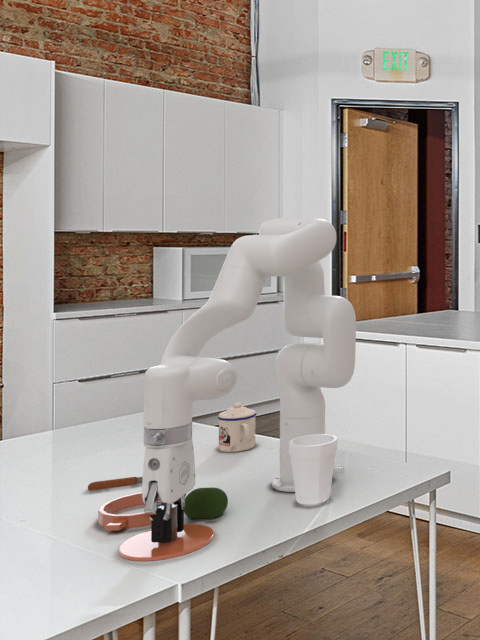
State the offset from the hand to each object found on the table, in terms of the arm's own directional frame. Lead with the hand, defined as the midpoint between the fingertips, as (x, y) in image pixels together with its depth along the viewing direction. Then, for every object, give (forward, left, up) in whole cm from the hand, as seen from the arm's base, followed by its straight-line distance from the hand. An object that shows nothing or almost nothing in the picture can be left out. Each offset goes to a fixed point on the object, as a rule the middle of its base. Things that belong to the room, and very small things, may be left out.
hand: (167, 535), depth 132 cm
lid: (0, 0, -1) cm, 1 cm away
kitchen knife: (+24, -33, -2) cm, 41 cm away
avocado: (-1, -13, -2) cm, 13 cm away
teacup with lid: (+12, -61, -2) cm, 62 cm away
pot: (+12, -14, -2) cm, 19 cm away
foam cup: (-19, -21, -2) cm, 28 cm away
